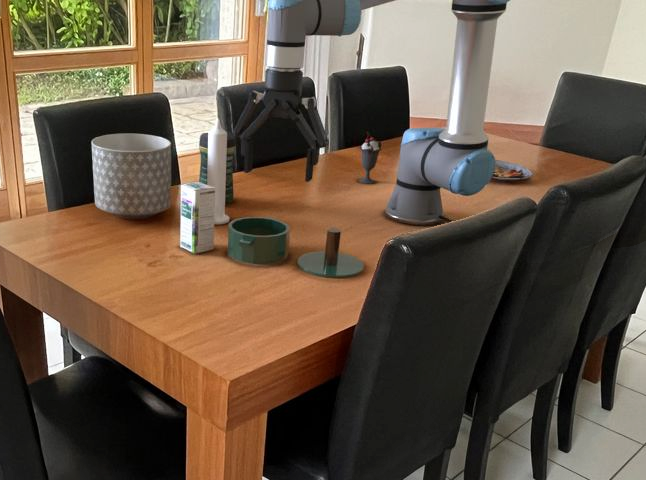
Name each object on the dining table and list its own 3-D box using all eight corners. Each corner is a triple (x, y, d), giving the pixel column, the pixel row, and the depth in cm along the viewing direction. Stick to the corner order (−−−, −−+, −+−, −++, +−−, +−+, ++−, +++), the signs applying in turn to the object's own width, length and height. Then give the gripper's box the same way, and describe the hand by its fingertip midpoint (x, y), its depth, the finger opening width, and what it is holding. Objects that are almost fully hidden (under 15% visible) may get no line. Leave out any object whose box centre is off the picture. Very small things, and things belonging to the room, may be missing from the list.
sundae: (353, 182, 228) (359, 132, 220) (359, 177, 233) (365, 128, 226) (374, 185, 226) (380, 135, 218) (379, 180, 231) (386, 131, 224)
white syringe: (219, 226, 185) (221, 122, 173) (196, 220, 188) (197, 117, 176) (234, 219, 191) (238, 118, 178) (212, 214, 194) (214, 113, 181)
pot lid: (369, 262, 169) (374, 225, 164) (355, 285, 157) (360, 245, 152) (307, 252, 172) (310, 215, 168) (288, 273, 160) (291, 234, 156)
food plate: (539, 187, 234) (542, 176, 233) (466, 183, 234) (468, 171, 232) (517, 167, 256) (519, 157, 254) (450, 163, 256) (451, 153, 254)
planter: (79, 214, 188) (74, 140, 179) (134, 199, 201) (132, 130, 192) (133, 232, 178) (130, 155, 169) (186, 215, 192) (187, 143, 183)
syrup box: (179, 247, 171) (179, 184, 164) (200, 242, 174) (200, 180, 167) (194, 254, 167) (194, 190, 160) (215, 249, 171) (216, 186, 164)
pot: (298, 247, 175) (300, 219, 172) (272, 274, 159) (274, 244, 156) (243, 238, 179) (245, 210, 175) (213, 264, 163) (214, 234, 159)
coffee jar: (213, 208, 198) (214, 136, 189) (192, 201, 203) (193, 130, 193) (238, 201, 204) (241, 132, 195) (218, 195, 209) (220, 126, 200)
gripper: (350, 72, 147) (339, 179, 158) (233, 60, 154) (230, 164, 165) (340, 77, 141) (329, 188, 152) (218, 64, 148) (217, 171, 159)
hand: (278, 175), depth 158 cm, fingers open, 13 cm apart
